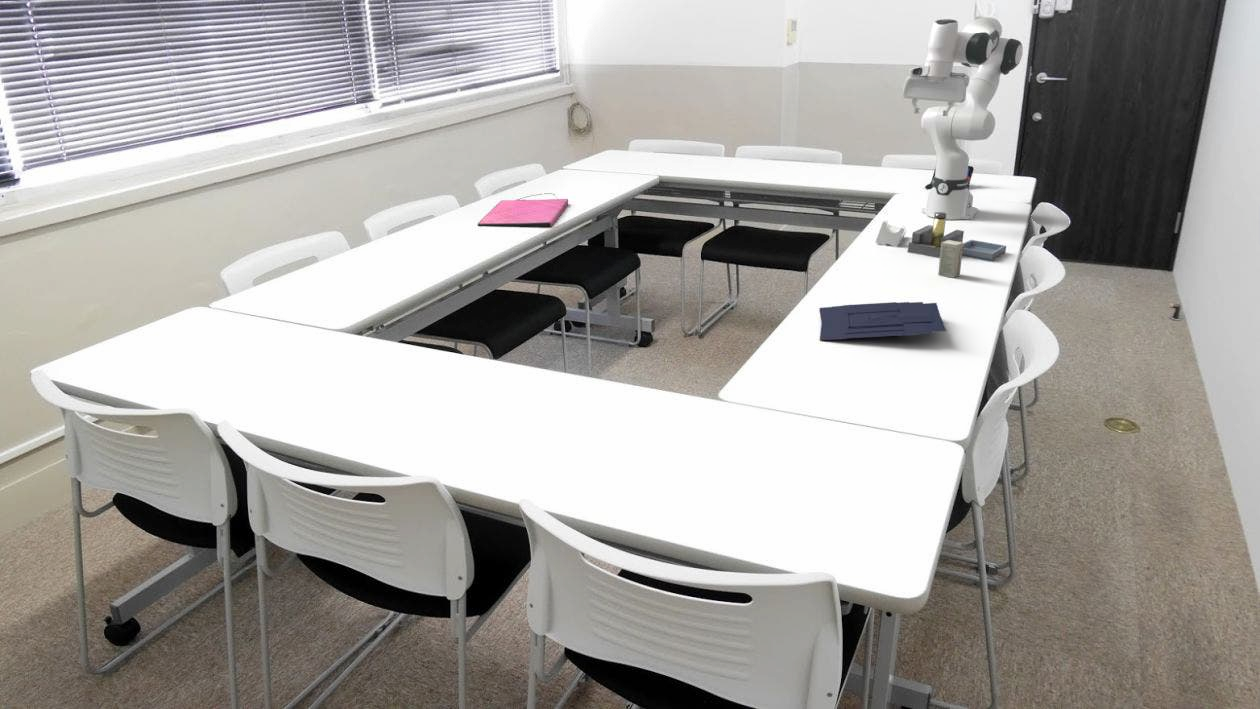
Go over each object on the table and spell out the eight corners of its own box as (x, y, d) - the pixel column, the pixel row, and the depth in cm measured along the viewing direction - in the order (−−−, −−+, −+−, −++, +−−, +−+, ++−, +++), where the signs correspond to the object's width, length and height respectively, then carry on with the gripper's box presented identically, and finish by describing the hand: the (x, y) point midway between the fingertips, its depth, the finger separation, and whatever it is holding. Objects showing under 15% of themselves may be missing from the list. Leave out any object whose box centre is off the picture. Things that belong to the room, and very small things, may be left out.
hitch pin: (933, 247, 301) (937, 211, 296) (943, 249, 298) (948, 213, 294) (928, 250, 298) (932, 213, 293) (939, 251, 296) (943, 215, 291)
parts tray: (969, 247, 301) (970, 239, 300) (1005, 253, 294) (1006, 245, 293) (955, 254, 293) (956, 247, 292) (991, 261, 286) (992, 253, 285)
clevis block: (926, 242, 306) (928, 225, 304) (961, 248, 299) (963, 231, 296) (907, 252, 296) (909, 234, 294) (943, 258, 289) (945, 240, 287)
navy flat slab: (947, 344, 220) (947, 330, 219) (820, 350, 227) (819, 337, 226) (935, 310, 242) (935, 297, 241) (819, 316, 249) (819, 304, 248)
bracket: (895, 249, 303) (904, 228, 299) (875, 242, 305) (883, 221, 301) (902, 239, 314) (910, 219, 310) (882, 232, 316) (890, 212, 312)
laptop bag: (550, 218, 328) (476, 218, 331) (551, 229, 330) (477, 229, 333) (570, 192, 365) (503, 192, 368) (570, 202, 366) (504, 202, 369)
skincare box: (960, 275, 273) (964, 242, 270) (953, 278, 271) (957, 245, 267) (944, 271, 277) (948, 239, 273) (937, 274, 274) (941, 242, 270)
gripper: (972, 73, 299) (964, 117, 303) (908, 69, 308) (902, 112, 312) (968, 73, 294) (961, 117, 298) (904, 69, 303) (898, 112, 307)
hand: (930, 114), depth 305 cm, fingers open, 8 cm apart
